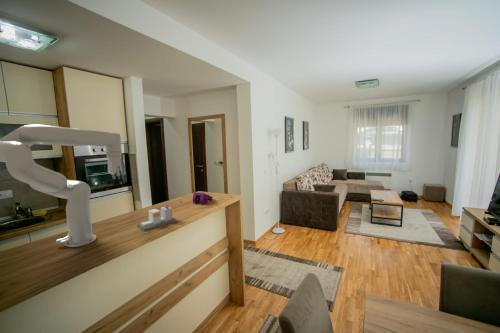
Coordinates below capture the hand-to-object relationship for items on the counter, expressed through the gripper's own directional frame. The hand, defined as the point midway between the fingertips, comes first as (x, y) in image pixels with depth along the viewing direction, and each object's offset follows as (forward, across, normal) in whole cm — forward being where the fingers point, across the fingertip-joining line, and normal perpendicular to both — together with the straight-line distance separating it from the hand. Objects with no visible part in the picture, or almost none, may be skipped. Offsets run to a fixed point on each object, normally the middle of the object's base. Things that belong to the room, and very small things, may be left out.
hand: (116, 185), depth 129 cm
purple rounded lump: (+25, -4, +65) cm, 70 cm away
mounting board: (+25, +14, +17) cm, 33 cm away
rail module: (+24, +14, +16) cm, 31 cm away
